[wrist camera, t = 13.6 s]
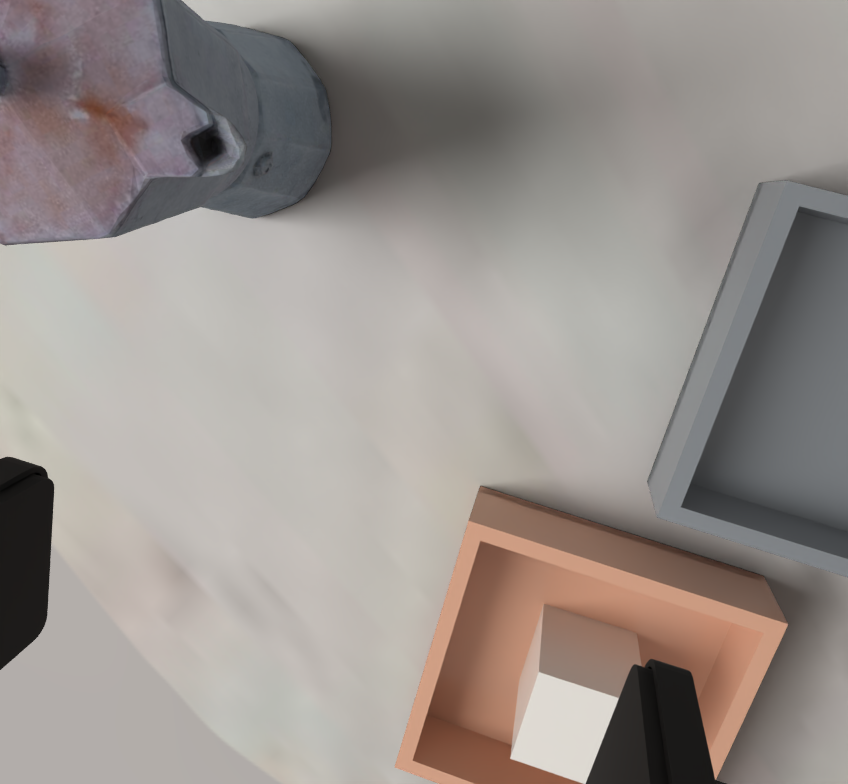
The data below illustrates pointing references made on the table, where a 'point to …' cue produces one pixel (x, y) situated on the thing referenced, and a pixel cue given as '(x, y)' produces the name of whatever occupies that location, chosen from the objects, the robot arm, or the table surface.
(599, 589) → the bin
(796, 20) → the table surface
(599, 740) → the stone block
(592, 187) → the table surface
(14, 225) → the moka pot
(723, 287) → the bin
